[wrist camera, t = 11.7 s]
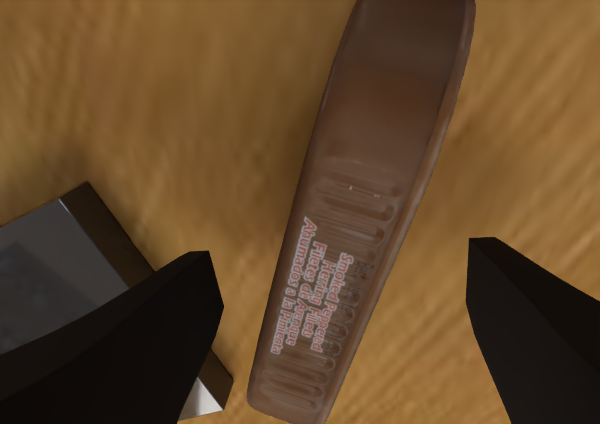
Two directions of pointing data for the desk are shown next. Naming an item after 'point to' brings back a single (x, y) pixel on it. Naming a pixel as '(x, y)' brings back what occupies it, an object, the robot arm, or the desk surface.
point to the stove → (78, 279)
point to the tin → (357, 195)
